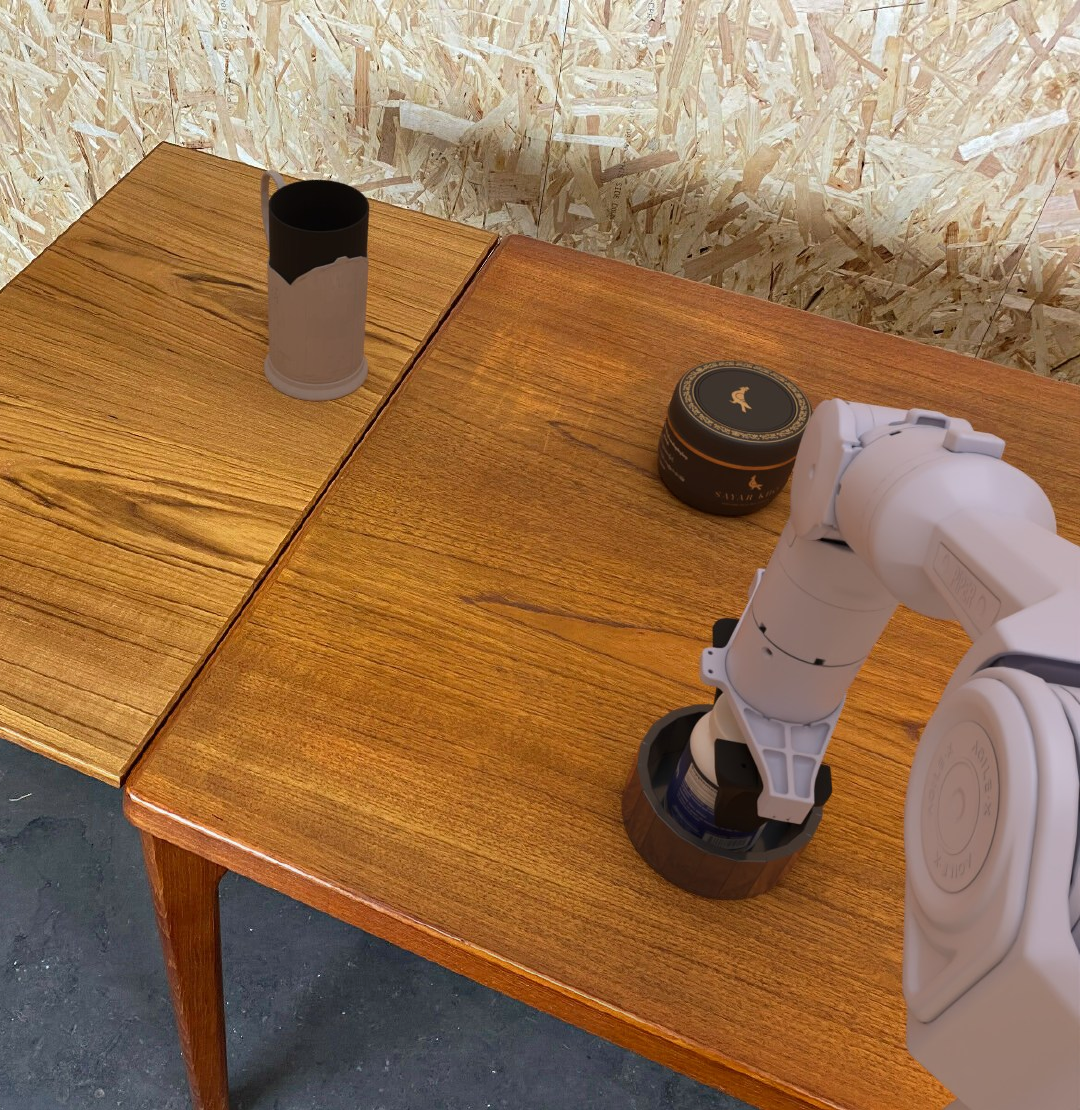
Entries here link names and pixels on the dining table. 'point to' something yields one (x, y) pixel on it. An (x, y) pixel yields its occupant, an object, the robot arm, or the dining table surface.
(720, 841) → the pill bottle
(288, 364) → the glass holder
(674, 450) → the jar
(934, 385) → the dining table surface
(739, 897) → the bowl
